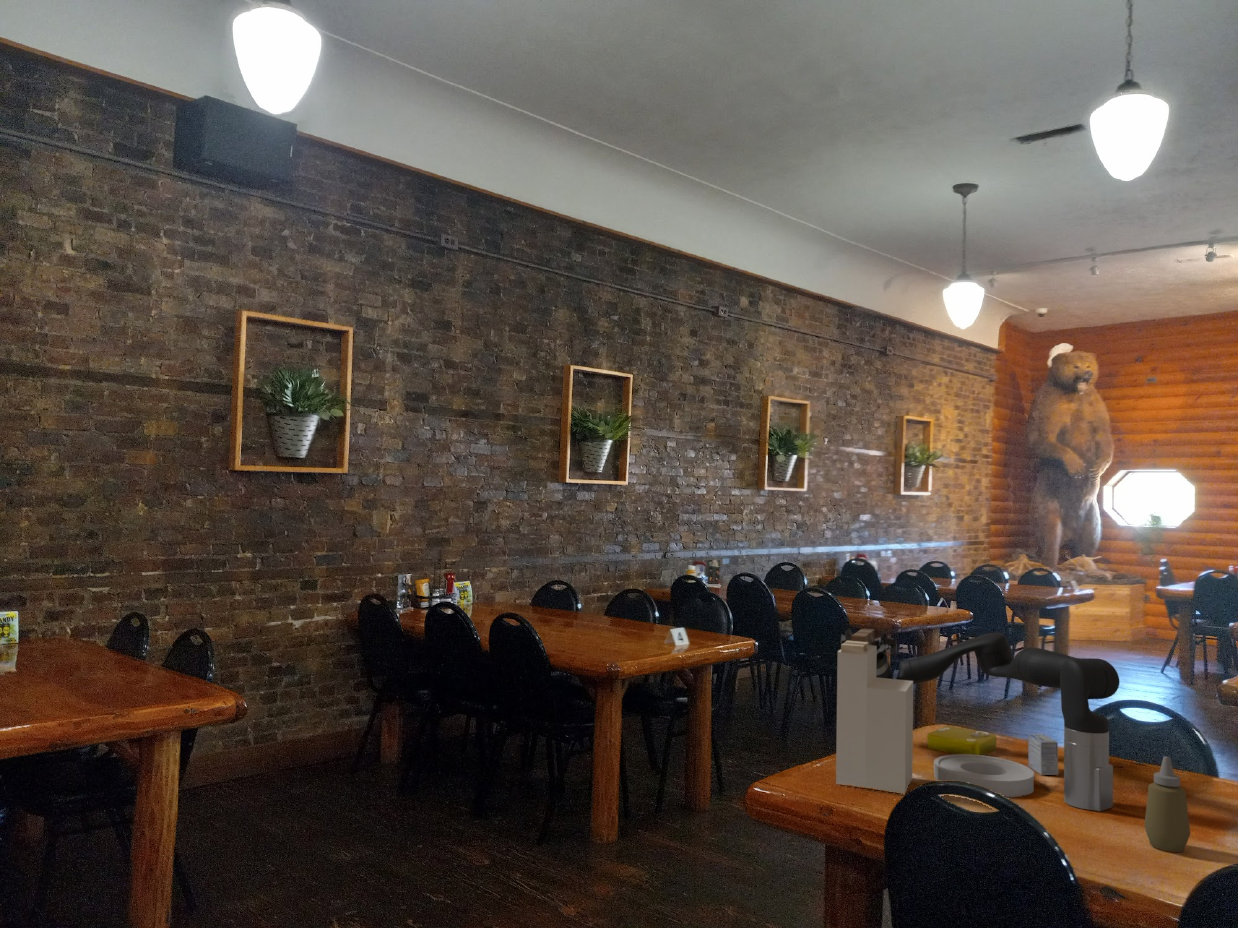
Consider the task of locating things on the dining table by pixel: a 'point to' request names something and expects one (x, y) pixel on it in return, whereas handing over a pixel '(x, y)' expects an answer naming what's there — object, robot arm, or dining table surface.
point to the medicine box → (1043, 754)
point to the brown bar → (859, 642)
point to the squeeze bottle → (1167, 811)
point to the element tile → (961, 741)
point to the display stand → (873, 725)
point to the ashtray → (986, 773)
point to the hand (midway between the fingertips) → (865, 633)
